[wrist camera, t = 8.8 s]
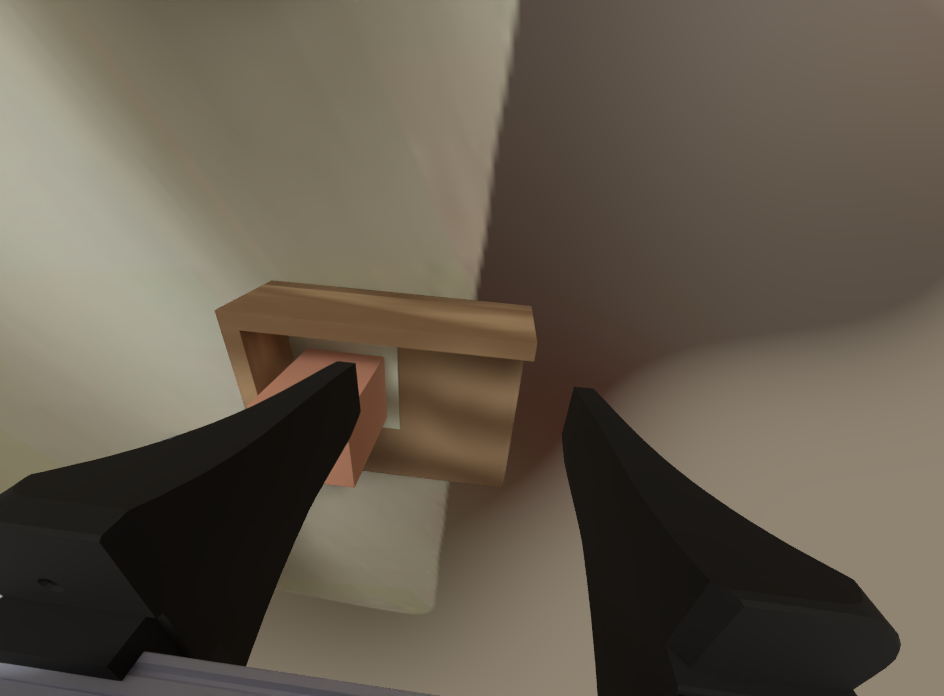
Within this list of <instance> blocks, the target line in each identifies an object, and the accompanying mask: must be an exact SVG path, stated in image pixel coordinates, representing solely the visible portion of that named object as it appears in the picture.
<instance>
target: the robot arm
mask: <svg viewBox="0 0 944 696" xmlns="http://www.w3.org/2000/svg"><path fill="white" fill-rule="evenodd" d="M360 413H361V408H360V399H359V390H358V380H357V371H356V363H351V362H342V361H337V362H335V363H333V364H331V365H329V366H327V367H325V368H323V369H321V370H319V371H318V372H316V373H314V374H312V375H310V376H309V377H307V378H305V379H303V380H301V381H300V382H298V383H296V384H294V385H292V386H290V387H289V388H287V389H285V390H283V391H281V392H279V393H277V394H275V395H273V396H271V397H269V398H267V399H265V400H263V401H261V402H259V403H257V404H255V405H253V406H251V407H249V408H247V409H245V410H243V411H240V412H238V413H236V414H234V415H231V416H229V417H226V418H224V419H221V420H219V421H217V422H214V423H212V424H209V425H206V426H204V427H201V428H198V429H195V430H192V431H189V432H187V433H184V434H181V435H178V436H175V437H172V438H169V439H167V440H163V441H160V442H157V443H154V444H150V445H147V446H144V447H141V448H137V449H134V450H130V451H126V452H123V453H119V454H116V455H112V456H108V457H104V458H100V459H96V460H92V461H88V462H84V463H79V464H75V465H71V466H66V467H62V468H58V469H54V470H49V471H45V472H40V473H35V474H31V475H29V476H27V477H26V478H24V479H22V480H21V481H19V482H18V483H17V484H15V485H14V486H12V487H11V488H9V489H8V490H6V491H5V492H3V493H2V494H0V696H437V695H431V694H424V693H417V692H411V691H404V690H398V689H391V688H384V687H378V686H371V685H364V684H357V683H351V682H344V681H338V680H331V679H325V678H318V677H311V676H305V675H298V674H291V673H285V672H278V671H271V670H265V669H258V668H251V667H246V665H247V662H248V659H249V656H250V653H251V651H252V648H253V645H254V643H255V640H256V637H257V634H258V632H259V629H260V626H261V623H262V621H263V618H264V615H265V613H266V610H267V608H268V605H269V603H270V600H271V598H272V595H273V593H274V590H275V588H276V585H277V583H278V580H279V578H280V575H281V573H282V570H283V568H284V566H285V563H286V561H287V559H288V556H289V554H290V552H291V549H292V547H293V545H294V542H295V540H296V538H297V536H298V533H299V531H300V529H301V527H302V525H303V522H304V520H305V518H306V516H307V514H308V511H309V509H310V507H311V506H312V504H313V502H314V500H315V498H316V496H317V494H318V493H319V491H320V489H321V488H322V486H323V484H324V482H325V481H326V479H327V477H328V476H329V474H330V472H331V470H332V469H333V467H334V465H335V464H336V462H337V460H338V458H339V457H340V455H341V453H342V451H343V450H344V448H345V446H346V445H347V443H348V441H349V439H350V437H351V435H352V433H353V430H354V428H355V426H356V423H357V420H358V418H359V415H360ZM562 442H563V453H564V463H565V467H566V472H567V477H568V481H569V485H570V490H571V494H572V498H573V503H574V507H575V511H576V515H577V520H578V524H579V529H580V534H581V539H582V545H583V552H584V560H585V568H586V575H587V583H588V593H589V602H590V610H591V621H592V631H593V642H594V653H595V665H596V679H597V692H598V696H857V695H856V694H855V692H854V690H853V689H855V688H856V687H858V686H859V685H861V684H862V683H864V682H865V681H867V680H868V679H870V678H871V677H873V676H874V675H876V674H877V673H879V672H880V671H882V670H883V669H885V668H886V667H887V666H888V665H890V664H891V663H892V662H893V661H894V660H895V659H896V657H897V655H898V653H899V650H900V646H901V643H900V639H899V635H898V633H897V632H896V631H895V630H894V628H893V627H892V626H891V625H890V624H889V622H888V621H887V620H886V619H885V618H884V616H883V615H882V614H881V613H880V611H879V610H878V609H877V608H876V606H875V605H874V604H873V603H872V602H871V600H870V599H869V598H868V597H867V595H866V594H865V593H864V592H863V591H862V589H861V588H860V587H859V586H858V584H857V583H856V582H855V581H854V580H853V579H851V578H850V577H848V576H846V575H844V574H842V573H840V572H838V571H837V570H834V569H833V568H831V567H829V566H827V565H825V564H824V563H821V562H820V561H818V560H816V559H814V558H813V557H811V556H809V555H807V554H805V553H803V552H801V551H800V550H798V549H796V548H794V547H792V546H791V545H789V544H787V543H785V542H784V541H782V540H780V539H779V538H777V537H775V536H774V535H772V534H770V533H768V532H767V531H765V530H764V529H762V528H760V527H759V526H757V525H755V524H754V523H752V522H750V521H749V520H747V519H746V518H744V517H743V516H741V515H740V514H738V513H736V512H735V511H733V510H732V509H730V508H729V507H728V506H726V505H725V504H723V503H722V502H720V501H719V500H717V499H716V498H715V497H713V496H712V495H710V494H709V493H707V492H706V491H705V490H703V489H702V488H700V487H699V486H698V485H696V484H695V483H694V482H692V481H691V480H690V479H688V478H687V477H686V476H685V475H683V474H682V473H681V472H680V471H678V470H677V469H676V468H675V467H673V466H672V465H671V464H670V463H669V462H667V461H666V460H665V459H664V458H663V457H662V456H660V455H659V454H658V453H657V452H656V451H655V450H654V449H653V448H652V447H650V446H649V445H648V444H647V443H646V442H645V441H643V439H642V438H641V437H640V436H639V435H638V434H637V433H636V432H635V431H634V430H633V429H632V428H631V427H630V426H629V425H628V424H627V423H626V422H625V421H624V420H623V419H622V418H621V417H620V416H619V415H618V414H617V413H616V412H615V411H614V410H613V409H612V408H611V407H610V405H609V404H608V403H607V402H606V401H605V400H604V399H603V398H602V397H601V396H600V395H599V394H598V393H597V392H596V391H595V390H594V389H591V388H581V387H574V390H573V394H572V398H571V401H570V405H569V409H568V413H567V417H566V421H565V425H564V428H563V432H562Z"/></svg>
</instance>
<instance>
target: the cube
mask: <svg viewBox="0 0 944 696" xmlns="http://www.w3.org/2000/svg"><path fill="white" fill-rule="evenodd" d="M337 361H342V362H351V363H356V371H357V380H358V390H359V399H360V408H361V413H360V415H359V418H358V420H357V423H356V426H355V428H354V430H353V433H352V435H351V437H350V439H349V441H348V443H347V445H346V446H345V448H344V450H343V451H342V453H341V455H340V457H339V458H338V460H337V462H336V464H335V465H334V467H333V469H332V470H331V472H330V474H329V476H328V477H327V479H326V481H325V482H324V484H330V485H338V486H346V487H353V488H354V487H355V485H356V483H357V481H358V479H359V477H360V475H361V472H362V470H363V468H364V466H365V464H366V462H367V460H368V457H369V455H370V453H371V451H372V449H373V447H374V444H375V442H376V440H377V438H378V436H379V434H380V432H381V429H382V427H383V425H384V423H385V421H386V419H387V407H386V388H385V368H384V357H381V356H372V355H363V354H355V353H346V352H337V351H328V350H320V349H311V348H307V349H306V350H305V351H304V352H303V353H302V354H301V355H300V356H299V357H298V358H297V359H296V360H295V361H294V362H293V363H292V364H290V365H289V366H288V367H287V368H286V369H285V370H284V371H283V372H282V373H281V374H280V375H279V376H278V377H277V378H276V379H275V380H274V381H273V382H272V383H270V384H269V385H268V386H267V387H266V388H265V389H264V390H263V391H262V392H261V393H260V394H259V395H258V396H257V397H256V398H255V399H254V400H253V401H252V402H250V403H249V404H248V405H247V408H249V407H251V406H253V405H255V404H257V403H259V402H261V401H263V400H265V399H267V398H269V397H271V396H273V395H275V394H277V393H279V392H281V391H283V390H285V389H287V388H289V387H290V386H292V385H294V384H296V383H298V382H300V381H301V380H303V379H305V378H307V377H309V376H310V375H312V374H314V373H316V372H318V371H319V370H321V369H323V368H325V367H327V366H329V365H331V364H333V363H335V362H337Z"/></svg>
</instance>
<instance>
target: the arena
mask: <svg viewBox="0 0 944 696" xmlns="http://www.w3.org/2000/svg"><path fill="white" fill-rule="evenodd" d="M215 313H216V316H217V320H218V323H219V326H220V329H221V332H222V336H223V339H224V342H225V345H226V349H227V352H228V355H229V358H230V361H231V365H232V368H233V371H234V374H235V377H236V381H237V384H238V387H239V390H240V393H241V397H242V400H243V403H244V406H245V409H247V405H248V404H249V403H250V402H252V401H253V400H254V399H255V398H256V397H257V396H258V395H259V394H260V393H261V392H262V391H263V390H264V389H265V388H266V387H267V386H268V385H269V384H270V383H272V382H273V381H274V380H275V379H276V378H277V377H278V376H279V375H280V374H281V373H282V372H283V371H284V370H285V369H286V368H287V367H288V366H289V365H290V364H292V363H293V362H294V361H295V360H296V359H297V358H298V357H299V356H300V355H301V354H302V353H303V352H304V351H305V350H306V349H307V348H311V349H320V350H328V351H337V352H346V353H355V354H363V355H372V356H381V357H384V368H385V388H386V407H387V419H386V421H385V423H384V425H383V427H382V429H381V432H380V434H379V436H378V438H377V440H376V442H375V444H374V447H373V449H372V451H371V453H370V455H369V457H368V460H367V462H366V464H365V466H364V468H363V470H362V471H370V472H379V473H387V474H395V475H403V476H411V477H420V478H428V479H436V480H444V481H452V482H460V483H469V484H477V485H485V486H493V487H501V488H502V487H503V484H504V478H505V472H506V465H507V460H508V454H509V447H510V441H511V435H512V429H513V424H514V418H515V412H516V405H517V400H518V393H519V387H520V381H521V375H522V369H523V363H524V360H525V361H534V359H535V354H536V348H537V340H536V339H537V338H536V332H535V326H534V320H533V314H532V308H531V306H526V305H515V304H505V303H495V302H485V301H475V300H465V299H454V298H444V297H434V296H424V295H414V294H404V293H393V292H383V291H373V290H363V289H353V288H343V287H332V286H322V285H312V284H302V283H292V282H282V281H270V282H268V283H266V284H264V285H262V286H260V287H258V288H257V289H255V290H253V291H251V292H249V293H247V294H245V295H243V296H241V297H239V298H237V299H235V300H233V301H231V302H230V303H228V304H226V305H224V306H222V307H220V308H218V309H216V310H215Z"/></svg>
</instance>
